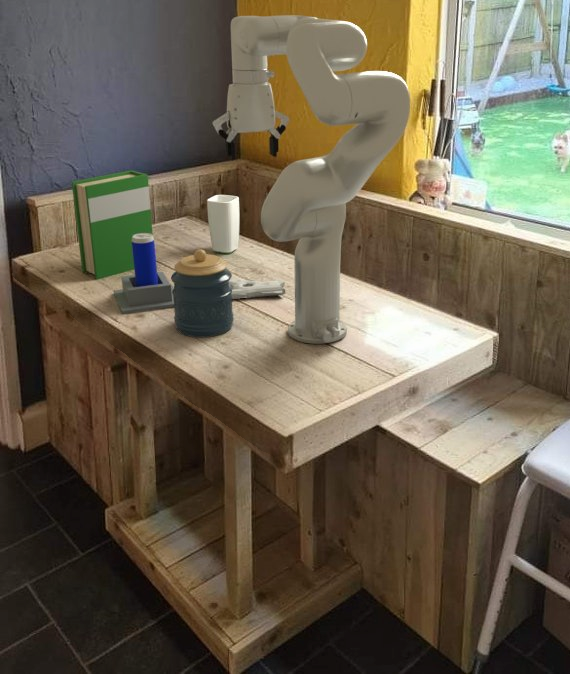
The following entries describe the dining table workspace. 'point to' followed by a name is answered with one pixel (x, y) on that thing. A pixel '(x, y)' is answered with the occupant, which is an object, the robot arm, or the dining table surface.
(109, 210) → the hardback book
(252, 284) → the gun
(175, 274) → the canister
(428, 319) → the dining table surface
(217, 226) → the cup
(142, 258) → the beverage can
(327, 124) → the robot arm
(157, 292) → the holder
